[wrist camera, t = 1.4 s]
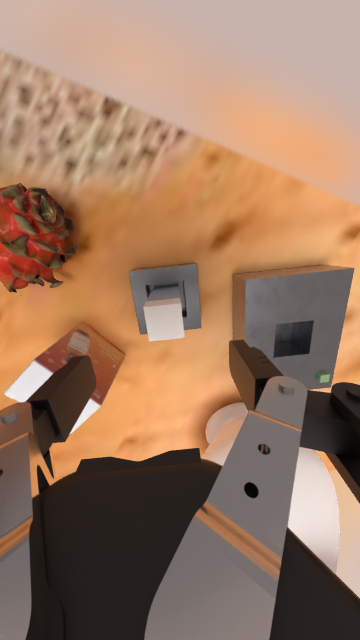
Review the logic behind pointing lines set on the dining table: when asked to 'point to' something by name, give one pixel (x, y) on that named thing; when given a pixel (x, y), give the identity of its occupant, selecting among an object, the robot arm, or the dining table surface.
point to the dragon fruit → (31, 237)
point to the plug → (164, 313)
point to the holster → (168, 275)
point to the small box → (57, 355)
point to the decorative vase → (308, 492)
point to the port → (294, 318)
